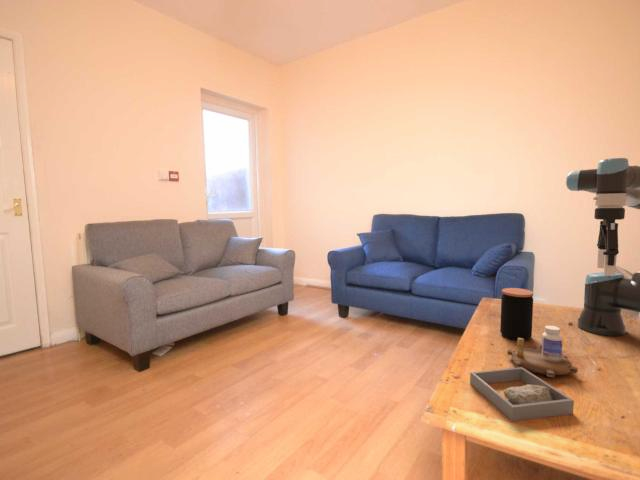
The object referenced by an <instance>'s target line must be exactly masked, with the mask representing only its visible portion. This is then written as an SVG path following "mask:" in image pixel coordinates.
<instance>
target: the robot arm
mask: <svg viewBox="0 0 640 480" xmlns="http://www.w3.org/2000/svg"><path fill="white" fill-rule="evenodd" d="M565 184H566V185H565V186H566V188H567V189H568V190H569V191H572V192H575V191H576V192H581V191H582V192H588V193H592V194H595V196H594V197H593V198H592V200H594V201H595V207H596V208H594V219H596V220H601V221H600V222H599V224H600V225H599V233H598V238H597V239H598V240H597V244H596V246H597V262H596V268H597V269H603V272H591V273H588V274H587V275H586V276H585V279H584V280H585V281H584V296H583V309H582V311H581V313H580V315H579V317H578V319H577V322H576V323H577V327H578V328H579V329H581V330H583V331H586V332H590V333H593V334H597V335H602V336H612V337H613V336H614V337H618V336H624V335H626V329H627V327H626V325H625V322H624V320H623V316H622V309H623V310H627V311H631V312H635V313H640V270H638V271H636V272H634V273H633V274H632V276H631V278H625V276H624V273H620V272H616V270H617V269H616V268H617V258H618V256H617V255H619V252H620V251H619V234H618V233H619V232H618V231H619V229H618V228H619V222H616V221H617V220H618V221H619V220H620V221H621V220H624V219H625V217H626V216H625V215H626V213H625V212H626V208H625V206H626V207H629V208H632V209H636V210H640V165H629V159H628V158H627V157H615V158H605V159H601V160H600V161H599V162H598V164H597V168H589V169H579V170H573V171H570V173H568V174H567V176H566V181H565Z"/></svg>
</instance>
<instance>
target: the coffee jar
mask: <svg viewBox="0 0 640 480" xmlns="http://www.w3.org/2000/svg"><path fill="white" fill-rule="evenodd" d="M501 293H502V295H501V302H500V304H501V307H500V329H499V330H500V334H501V336H502V337H504V338H506V339H509V340H511V341H517V342H518V338H523V339H524V342H526V341H528V340H530V339H531V338H532V333H533V332H532V331H533V315H534V314H533V312H534V311H533V310H534V298H533V297H534V291H532V290H529V289H525V288H518V287H507V288H502V289H501Z"/></svg>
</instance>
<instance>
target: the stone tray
mask: <svg viewBox="0 0 640 480" xmlns="http://www.w3.org/2000/svg"><path fill="white" fill-rule="evenodd" d="M469 376H470V379H469V384H470V385H471V386H472V387H474V389H475V390H477V391H478V392H479V394H481V395H483V396H484V398H486V399H487V400H488V401H489V402H490V403H491V404H492V405H493V406H495V407H496V408H497V409H498V410H499V411H500V412H501V413H502V414H503V415H505V416H506V418H508V419H509V420H510V421H511V422H515V421H524V420H525V421H526V420H533V419H541V418H548V417H550V418H551V417H555V416H556V417H559V416H565V415H573V414H574V403H575V402H574V401H575V400H574V399H572V398H571V397H569V396H568V395H567V394H565V393H563V392H562V391H560V390H559V389H557V388H555V387H554V386H552V384H549V383H548V382H546V381H545V380H543V379H541V378H540V377H538V376H536V375H535V373H534V374H533V372H530V371H528V370H526V369H525V368H523V367H509V368H499V369H489V370H479V371H470V375H469ZM514 381H522V382H524V383H525V385H527V384H529V385H539V386H544V387H547V388H548V389H549V394H550V396H551V398H552V400H553V401H545V402H537V403H528V404H519V405H513V404H511V402H510V401H509V399H507V398H506V397H505V396H503V395H502V394H501V393H499V392H498V391H497V390H496V389H495V388H493V387H492V386H491V385H489V384H494V383H496V384H497V383H505V382H514Z"/></svg>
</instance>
